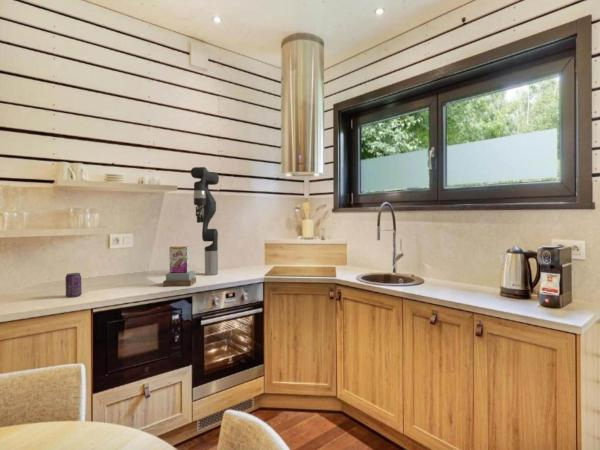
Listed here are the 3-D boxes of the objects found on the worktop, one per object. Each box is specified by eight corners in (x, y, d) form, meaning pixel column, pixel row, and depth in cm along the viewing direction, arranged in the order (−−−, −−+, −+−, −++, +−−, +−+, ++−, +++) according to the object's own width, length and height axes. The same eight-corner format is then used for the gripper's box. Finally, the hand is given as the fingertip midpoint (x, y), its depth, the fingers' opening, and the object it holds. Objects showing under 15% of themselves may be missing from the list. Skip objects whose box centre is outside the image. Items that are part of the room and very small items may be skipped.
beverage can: (70, 295, 192) (70, 272, 191) (84, 294, 192) (83, 272, 192) (62, 297, 185) (62, 274, 184) (77, 297, 185) (76, 274, 185)
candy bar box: (169, 273, 218) (168, 246, 217) (173, 272, 223) (172, 245, 222) (187, 273, 217) (186, 246, 216) (190, 272, 222) (189, 245, 221)
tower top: (172, 277, 226) (172, 271, 226) (194, 277, 226) (194, 271, 226) (166, 280, 215) (165, 273, 215) (189, 280, 215) (188, 273, 215)
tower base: (170, 283, 227) (170, 277, 227) (195, 283, 228) (195, 277, 228) (163, 287, 213) (163, 281, 213) (190, 287, 214) (190, 280, 214)
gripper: (196, 198, 239) (196, 222, 239) (191, 197, 225) (191, 222, 225) (207, 198, 240) (208, 222, 240) (203, 197, 225) (203, 222, 226)
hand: (200, 222), depth 233 cm, fingers open, 8 cm apart
